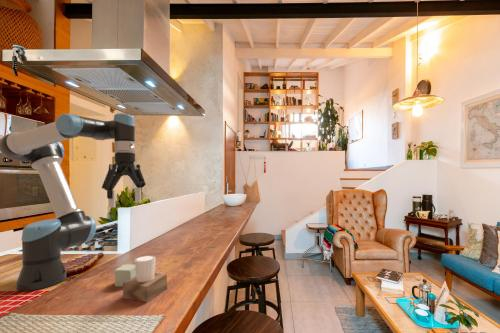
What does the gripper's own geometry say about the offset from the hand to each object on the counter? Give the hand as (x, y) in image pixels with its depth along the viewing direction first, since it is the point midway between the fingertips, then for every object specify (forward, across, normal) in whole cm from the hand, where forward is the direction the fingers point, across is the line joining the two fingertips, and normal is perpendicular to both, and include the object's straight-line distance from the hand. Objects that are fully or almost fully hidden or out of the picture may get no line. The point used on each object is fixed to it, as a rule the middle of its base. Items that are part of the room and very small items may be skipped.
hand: (125, 204), depth 106 cm
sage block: (+29, -5, -5) cm, 30 cm away
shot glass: (+24, -10, -18) cm, 32 cm away
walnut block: (+29, -10, -18) cm, 35 cm away
